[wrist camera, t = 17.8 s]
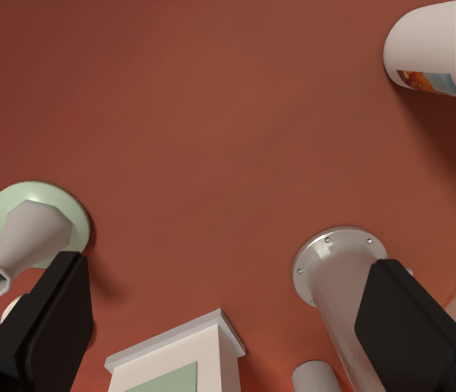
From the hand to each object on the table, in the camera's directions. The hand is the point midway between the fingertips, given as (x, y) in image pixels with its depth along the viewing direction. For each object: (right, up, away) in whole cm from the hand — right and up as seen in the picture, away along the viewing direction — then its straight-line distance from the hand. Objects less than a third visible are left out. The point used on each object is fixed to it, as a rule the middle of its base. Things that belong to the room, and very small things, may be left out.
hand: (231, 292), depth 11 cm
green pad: (-22, 0, +29) cm, 36 cm away
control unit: (-7, -19, +38) cm, 44 cm away
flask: (-22, 0, +28) cm, 36 cm away
